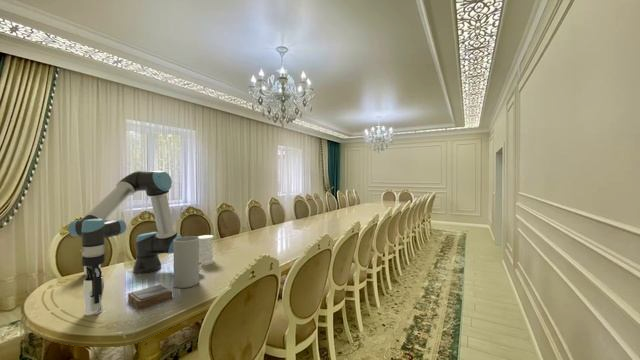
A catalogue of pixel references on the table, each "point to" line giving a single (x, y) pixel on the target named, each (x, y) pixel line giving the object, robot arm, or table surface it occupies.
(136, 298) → the walnut stand
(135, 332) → the table surface
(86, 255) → the robot arm
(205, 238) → the decorative container
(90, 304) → the beer glass
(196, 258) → the cylinder vase
